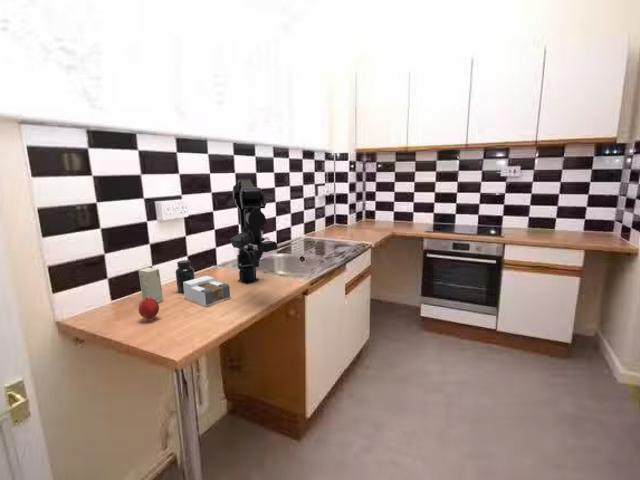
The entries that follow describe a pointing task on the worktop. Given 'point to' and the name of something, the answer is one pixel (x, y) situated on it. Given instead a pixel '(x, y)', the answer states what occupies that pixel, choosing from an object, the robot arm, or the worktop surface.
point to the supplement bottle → (183, 274)
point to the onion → (148, 308)
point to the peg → (214, 291)
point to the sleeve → (204, 290)
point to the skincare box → (150, 284)
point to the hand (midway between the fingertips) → (255, 266)
